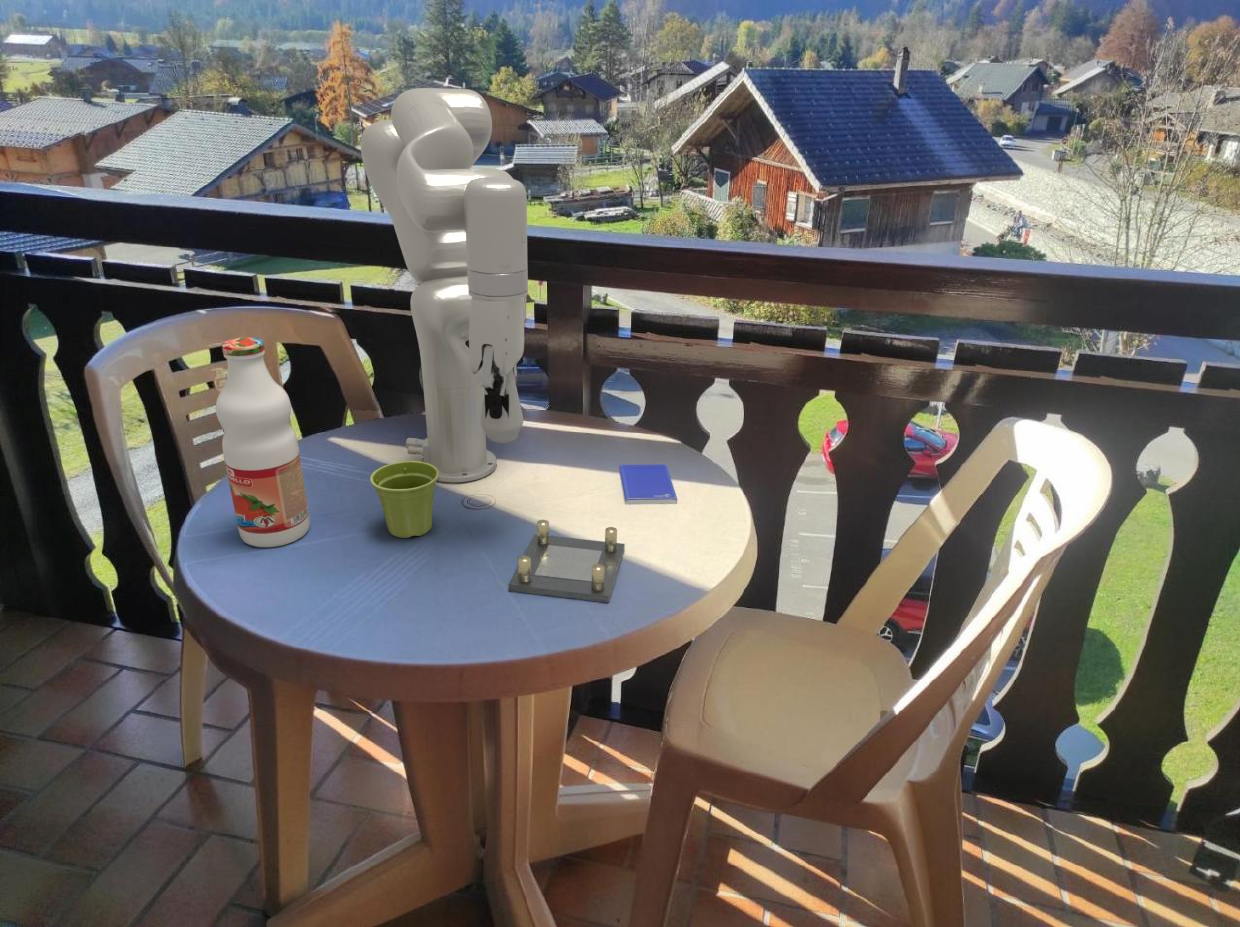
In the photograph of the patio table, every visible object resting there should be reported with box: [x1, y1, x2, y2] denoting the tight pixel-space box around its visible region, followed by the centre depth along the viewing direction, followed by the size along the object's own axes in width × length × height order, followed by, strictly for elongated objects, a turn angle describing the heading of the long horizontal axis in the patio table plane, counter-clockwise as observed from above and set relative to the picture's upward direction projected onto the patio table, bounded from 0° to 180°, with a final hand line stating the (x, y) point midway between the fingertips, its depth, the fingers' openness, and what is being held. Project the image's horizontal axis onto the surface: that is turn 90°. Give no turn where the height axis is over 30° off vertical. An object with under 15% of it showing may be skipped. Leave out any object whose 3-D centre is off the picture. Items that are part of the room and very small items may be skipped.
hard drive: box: [618, 464, 678, 505], centre depth 132 cm, size 2×8×12 cm
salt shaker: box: [480, 358, 524, 444], centre depth 109 cm, size 6×6×13 cm
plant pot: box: [369, 460, 439, 539], centre depth 116 cm, size 9×9×9 cm
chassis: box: [508, 519, 626, 604], centre depth 108 cm, size 13×13×4 cm
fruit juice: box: [215, 337, 311, 548], centre depth 109 cm, size 9×9×28 cm
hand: (501, 414), depth 110 cm, fingers closed on salt shaker, 3 cm apart
